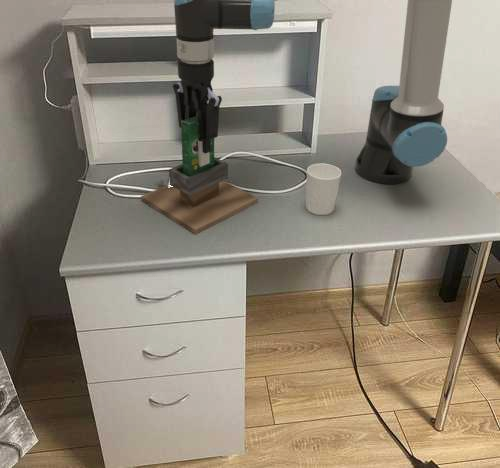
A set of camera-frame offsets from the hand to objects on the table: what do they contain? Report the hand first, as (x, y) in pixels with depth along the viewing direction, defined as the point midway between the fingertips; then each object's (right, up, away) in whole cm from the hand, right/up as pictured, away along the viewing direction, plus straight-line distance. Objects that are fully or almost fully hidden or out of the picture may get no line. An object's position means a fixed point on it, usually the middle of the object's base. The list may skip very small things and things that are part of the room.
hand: (198, 161), depth 121 cm
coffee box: (0, -2, +1) cm, 3 cm away
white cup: (+29, -11, +5) cm, 31 cm away
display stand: (0, -9, +6) cm, 11 cm away
